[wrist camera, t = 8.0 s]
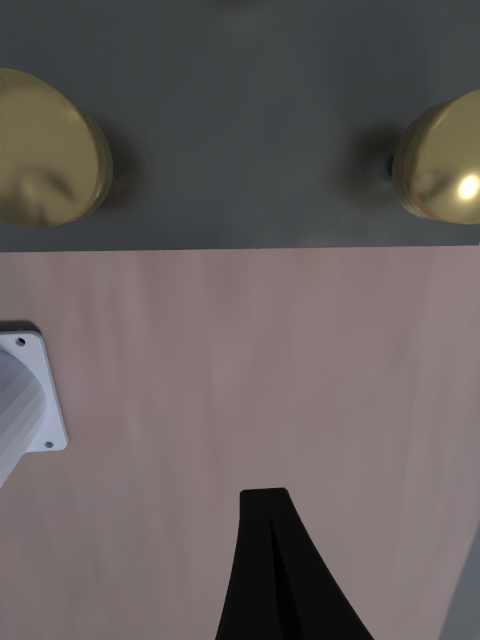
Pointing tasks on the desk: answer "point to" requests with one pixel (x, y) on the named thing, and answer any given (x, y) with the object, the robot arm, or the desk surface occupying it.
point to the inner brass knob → (48, 155)
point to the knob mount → (246, 116)
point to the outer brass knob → (441, 162)
